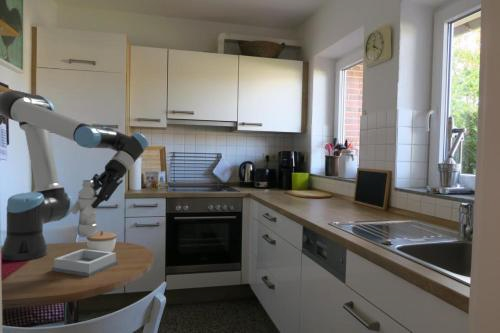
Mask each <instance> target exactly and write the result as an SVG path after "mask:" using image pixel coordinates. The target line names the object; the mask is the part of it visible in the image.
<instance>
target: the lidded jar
mask: <svg viewBox="0 0 500 333" xmlns="http://www.w3.org/2000/svg"><path fill="white" fill-rule="evenodd" d="M86 239H87V240H86V243H87V244H86V245H87V249H90V250H98V251H105V252H113V251H114V249H115V246H116V243H117V242H116V241H117V234H116V233H113V232H108V231H107V232H106V231H104V230H100V232H97V234H96V235H95V236H92V237H88V238H86Z"/></svg>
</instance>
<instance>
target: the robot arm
mask: <svg viewBox="0 0 500 333" xmlns="http://www.w3.org/2000/svg"><path fill="white" fill-rule="evenodd" d="M55 110H56V109H55V107H54V104H53V103H52V102H51V101H50V99H49V98H48V97H47V98H46V97H44V96H42V95H39V94H34V93H33V94H32V93H28V92H23V91H20V90H7V91H4V92H3V93H1V94H0V115H1V116H2V117H4V118H5V119H9V120H12V121H15V122H17V123H18V125H19V129H20V130H22V131H24V134H25V139H26V144H27V145H26V146H27V149H28V153H29V155H28V156H29V160H30V165H31V169H32V170H31V171H32V175H33V181H34V185H35V186H34V187H35V188H34V190H33V191H31V192H22V193H21V192H20V193H17V194H14V195H11V196H10V197H8V199H7V202H6V203H7V206H6V207H5V208H6V237H5V240H4V243H3V245H2V247H1V250H2V259H1V260H4V261H14V262H18V261H28V260H34V259H38V258H42V257H44V256H46V255H47V254H48V245H47V244H46V240H45V237H44V233H43V232H44V231H43V230H44V224H48V223H52V222H57V221H61V220H63V219H66V218H67V217H68V216H69V215H70V214H71V213H72V214H73V215H77V214H78V212H80V210H79V200H78V199H76V200H75V202H74V200H73V198H72V196H71V195H69V193H67V192H66V190H65V187H64V186H63V185H61V184H60V181H59V176H58V172H57V166H56V161H55V158H54V157H55V156H54V152H53V146H52V139H51V137H50V136H51V135H50V133H53V134H55V135H58V136H61V137H63V138H65V139H68V140H71V141H73V142H76V144H77V145H78V146H80V147H82V148H87V149H110V150H113V151H115V154H114V155H113V156H112V157H111V159H110V160H109V161H108V162H107V163H106V164H105V166H104V171H103V172H102V173H100V174H98V173H95V174H93V176H92V178H91V179H90V180H94V186H93V188H94V189H95V190H96V192H97V191H98V190H99V189H100V190H99V192H98V193H97V194H98V195H95V196H96V197H97V198H96V197H94V198H93V199H92V201H91V202H90V203H89V204H88V205H87V206H86V208H85V209H84V210H83V211H82V213H83V214H84V215H85V216H86V217H89V216H90V214H91V213H92V212H93V211H94V210H95V208H96V209H97V208H98V206H99V205H100V204H101V203H103V202H108V201H109V200H110V198H111V196H112V195H113V194H114V192H115V191H116V190H117V188H118V187H119V186H120V185H121V184H122V183H123V181H124V180H123V177H124V176H125V175H126V174H127V172H128V171H129V170H130V169H131V168H132V166H133V165H134V164H135V162H136V161H137V160H138V159H139V157H141V155H142V154H144V153H145V150H146V149H147V147H148V146H149V141H148V139H147V138H146V136H144V135H143V134H142V133H139V132H135V133H132V134H131V135H127V134H124V133H123V132H120V131H117V130H116V129H113V128H110V127H107V126H101V127H95V126H92V125H90V124H87V123H85V122H82V121H79V120H77V119H74V118H72V117H69V116H66V115H64V114H61V113H58V112H56V111H55ZM1 250H0V251H1Z"/></svg>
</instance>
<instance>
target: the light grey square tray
mask: <svg viewBox="0 0 500 333" xmlns="http://www.w3.org/2000/svg"><path fill="white" fill-rule="evenodd" d="M116 259H117V253H116V252H113V251H112V252H105V251H98V250H90V249H88V248H82V249H79V250H76V251H73V252H70V253H68V254H64V255H61V256H58V257H55V258H54V259H53V261H54V262H53V267H51V272H58V273H64V274H71V275H76V276H77V275H78V276H83V277H91V276H93V275H96V274H97V273H100V272H102V271H104V270H107V269H109V268H111V267H112V266H113V267H114V266H115V265H117V264H118V262H119V261H118V260H116Z"/></svg>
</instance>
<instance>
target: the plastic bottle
mask: <svg viewBox="0 0 500 333" xmlns="http://www.w3.org/2000/svg"><path fill="white" fill-rule="evenodd" d="M93 186H94V180H91V179H89V180H88V179H83V180H82V188H81V189H80V190H79V191H78V195H77V197H78V198H77V200H79V217H78V218H79V219H78V225H77V235H78V236H79V238H80V237H81V238H86V239H87V238H88V237H92V236H95V235H96V234H97V233H98V224H97V208H95V210H94V211H93V212H92V213H91V214H90V216H89V217H86V216H85V215H84V214H83V213H82V211H83V210H84V209H85V208H86V206H87V205H88V204H89V203H90V202H91V201H92V199H93V198H94V197H96V196H95V195H98V194H99V193H98V192H97V191H96V190H95V189H94V188H93ZM96 198H97V197H96Z"/></svg>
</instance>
